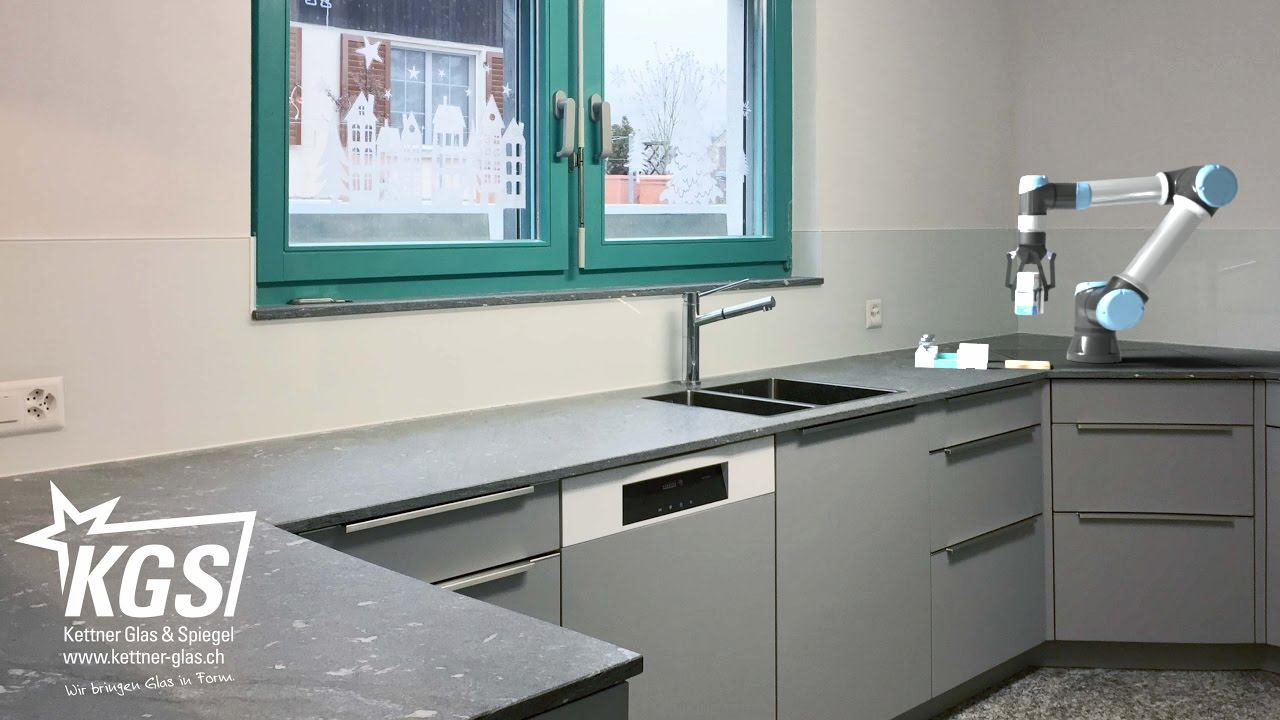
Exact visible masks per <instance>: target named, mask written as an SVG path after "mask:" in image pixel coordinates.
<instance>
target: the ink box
mask: <svg viewBox="0 0 1280 720" xmlns="http://www.w3.org/2000/svg"><path fill="white" fill-rule="evenodd" d="M1016 290H1017V306H1016V313H1015V314H1016V315H1019V316H1020V315H1021V316H1036V315H1039V314H1040V308H1041V290H1044V287H1043V283H1042V280H1041V277H1040V273H1039V271H1038V272H1036V271H1022V273H1018V276H1017V287H1016Z"/></svg>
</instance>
